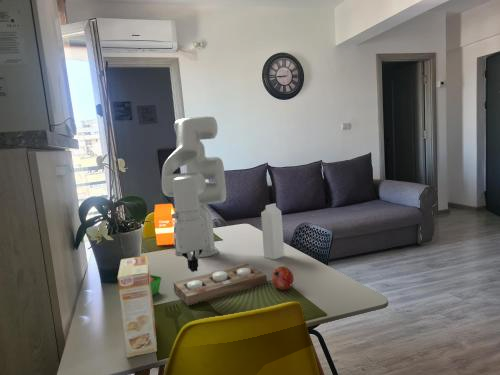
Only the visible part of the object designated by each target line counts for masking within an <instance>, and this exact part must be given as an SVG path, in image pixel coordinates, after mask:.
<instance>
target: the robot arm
mask: <svg viewBox="0 0 500 375" xmlns="http://www.w3.org/2000/svg"><path fill="white" fill-rule="evenodd" d="M218 127H219V126H218V122H217V120H216V118H215V117H214V116H195V117H184V118H180V119H177V120H175V121H174V124H173V129H174V133H175V134H176V148H175V150H174V151H173V152H172V153H171V154H170V155H169V156H168V157H167V159H166V160H165V161H164V163H163V165H162V169H161V191H162V194H164V196H166V197H171V198H172V197H173V200H174V212H175V213H174V214H172V215H171V216H172V219H173V218H175V222H174V244H173V245H174V249H175V252H174V255H175V256H176V257H184V258H185V259H187V268H188V269H189V270H190V271H191V272H192V273H194V272H198V268H199V259H200V258H207V257H212V256H215V255H217V254H218V253H219V248H218V247H217V246H216V247H215V235H214V225H213V224H214V223H213V215H212V211H211V210H210V209H209V208H208V207H207V206H206V205H211V204H221V203H224V202H225V201H226V199H227V186H226V176H225V166H224V162H223V160H222V158H221V157H218V156H210V157H207V156H206V151H205V145H204V144H203V142H202V140H213V139H215V138H216V137H217V135H218ZM183 166H185V168H186V172H184V173H174V172H175V171H176V170H178V169H179V168H181V167H183ZM206 180H213V181H209V182H206Z"/></svg>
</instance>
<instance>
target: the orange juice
mask: <svg viewBox="0 0 500 375" xmlns="http://www.w3.org/2000/svg"><path fill="white" fill-rule="evenodd" d="M174 213H175V208H174V206H173V204H172V203H160V204H154V213H153V214H154V216H153V220H154V230H155V239H156V245H157V246H164V245H165V246H166V245H167V246H168V245H174V222H175V220H176V219H175V218H173V219H172V216H171V215H172V214H174Z"/></svg>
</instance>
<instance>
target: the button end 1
mask: <svg viewBox="0 0 500 375" xmlns="http://www.w3.org/2000/svg"><path fill="white" fill-rule="evenodd" d="M200 287H202V281H199V280H195V281H191V282H188V283H187V288H188V290H193V289H196V288H200Z"/></svg>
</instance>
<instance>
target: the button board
mask: <svg viewBox="0 0 500 375" xmlns="http://www.w3.org/2000/svg"><path fill="white" fill-rule="evenodd" d="M241 268H249V269H250V270H251V274H248V275H244V276H241V277H240V276H238V275H237V270H238V269H241ZM221 271H223V272H226V273H227V280H226V281H222V282H218V283H214V282H213V273H215V272H221ZM195 280H199V281H202V287H200V288H196V289H193V290H188V288H187V283H188V282H191V281H195ZM264 284H268V276H267V273H265V272H263V271H262V270H259V269H257V268H256V267H254V266H252V265H250V264H248V263H244V264H239V265H236V266H233V267H228V268H225V269H221V270H217V271H213V272H209V273H205V274H201V275H197V276H193V277H189V278H185V279H181V280H178V281H177V280H176V281H173V290H174V291H173V292H174V293H175V294H177V295H178V297H179V298H180V299H181V301H183V302H184V304H186V306H188V307H189V305H190V306H192V304H193V305H195V303H196V304H199V303H198V302H200V303H203V302H206V301H205V300H207V301H210V300H213V299H212V298H214V299H216V297H217V298H219V297H220V298H221V297H224V296H227V295H231V294H233V293H238V292H241V291H244V290H247V289H251V288H254V287H258V286H261V285H264ZM230 293H231V294H230ZM223 295H224V296H223ZM209 299H210V300H209ZM202 301H203V302H202Z"/></svg>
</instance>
